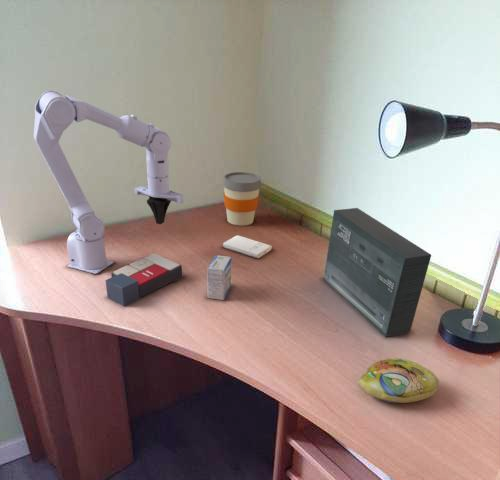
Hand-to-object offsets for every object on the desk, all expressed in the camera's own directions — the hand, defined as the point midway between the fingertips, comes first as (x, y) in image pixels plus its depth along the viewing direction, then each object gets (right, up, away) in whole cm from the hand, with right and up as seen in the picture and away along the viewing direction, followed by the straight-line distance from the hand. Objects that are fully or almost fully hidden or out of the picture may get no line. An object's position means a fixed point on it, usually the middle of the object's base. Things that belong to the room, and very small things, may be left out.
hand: (160, 222), depth 139 cm
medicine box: (+18, -20, -13) cm, 30 cm away
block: (-6, -22, -18) cm, 29 cm away
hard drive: (+25, -6, +11) cm, 28 cm away
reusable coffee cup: (+22, +6, +30) cm, 38 cm away
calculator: (-2, -17, -9) cm, 20 cm away
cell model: (+54, -41, -42) cm, 80 cm away
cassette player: (+54, -23, -14) cm, 61 cm away
